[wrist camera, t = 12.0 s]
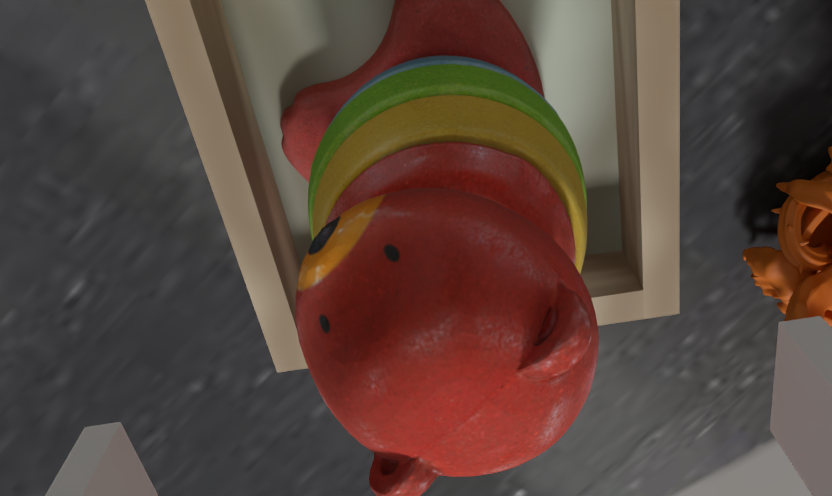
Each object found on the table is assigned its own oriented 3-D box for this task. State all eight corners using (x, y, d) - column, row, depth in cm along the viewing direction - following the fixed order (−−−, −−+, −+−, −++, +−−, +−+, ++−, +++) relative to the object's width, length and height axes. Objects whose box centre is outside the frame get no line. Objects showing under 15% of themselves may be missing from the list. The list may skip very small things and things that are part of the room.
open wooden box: (292, 316, 35) (277, 372, 32) (170, -62, 27) (127, -49, 23) (648, 261, 34) (679, 313, 30) (638, -158, 25) (679, -162, 21)
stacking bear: (449, -61, 26) (499, 52, 10) (607, 128, 30) (821, 422, 14) (261, 128, 30) (87, 422, 14) (422, 276, 33) (427, 641, 18)
